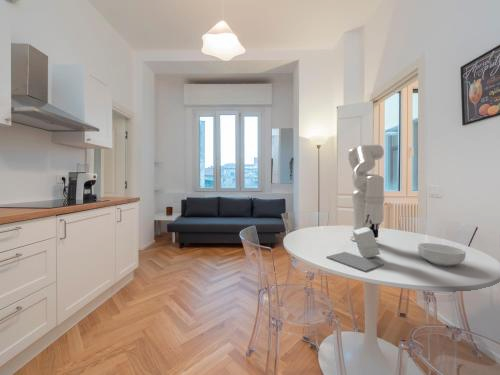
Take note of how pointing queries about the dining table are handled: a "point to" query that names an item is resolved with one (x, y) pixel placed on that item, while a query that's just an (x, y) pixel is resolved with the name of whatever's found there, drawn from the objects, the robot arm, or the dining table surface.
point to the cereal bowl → (441, 254)
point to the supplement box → (366, 242)
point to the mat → (355, 261)
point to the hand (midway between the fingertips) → (374, 237)
